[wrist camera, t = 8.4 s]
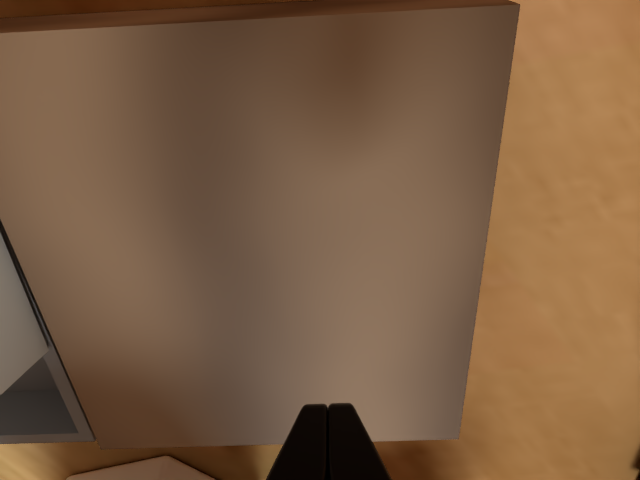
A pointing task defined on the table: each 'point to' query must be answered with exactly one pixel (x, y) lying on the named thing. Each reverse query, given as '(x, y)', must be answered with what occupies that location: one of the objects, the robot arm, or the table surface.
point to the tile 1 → (16, 325)
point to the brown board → (257, 209)
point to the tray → (41, 392)
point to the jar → (146, 471)
